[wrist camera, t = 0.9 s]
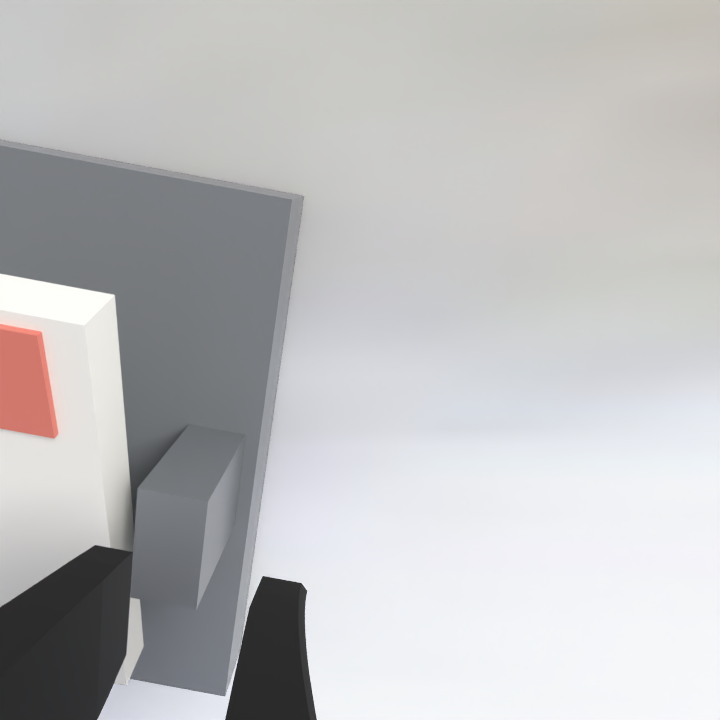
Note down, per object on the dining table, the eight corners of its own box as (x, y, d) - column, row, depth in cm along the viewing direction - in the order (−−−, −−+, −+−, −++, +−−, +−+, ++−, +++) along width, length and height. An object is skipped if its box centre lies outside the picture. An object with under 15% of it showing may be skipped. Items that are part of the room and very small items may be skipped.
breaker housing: (240, 649, 21) (189, 804, 16) (-61, 593, 21) (-208, 730, 16) (303, 195, 16) (261, 208, 11) (-88, 123, 16) (-312, 102, 11)
